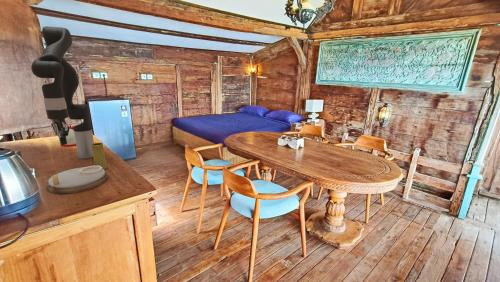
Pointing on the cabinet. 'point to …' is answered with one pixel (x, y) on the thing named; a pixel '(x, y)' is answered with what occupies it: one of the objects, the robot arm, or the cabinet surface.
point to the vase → (99, 155)
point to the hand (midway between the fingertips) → (64, 144)
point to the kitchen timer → (70, 138)
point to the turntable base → (76, 189)
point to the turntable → (77, 177)
